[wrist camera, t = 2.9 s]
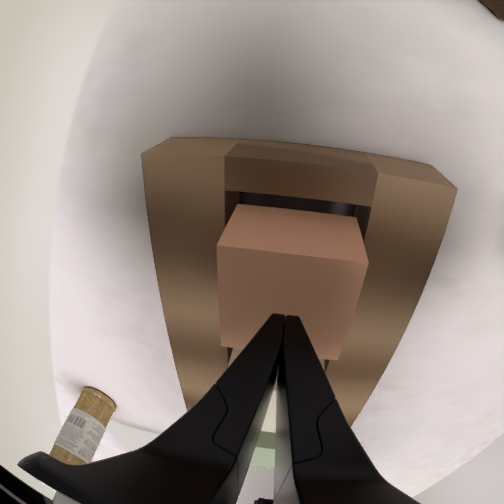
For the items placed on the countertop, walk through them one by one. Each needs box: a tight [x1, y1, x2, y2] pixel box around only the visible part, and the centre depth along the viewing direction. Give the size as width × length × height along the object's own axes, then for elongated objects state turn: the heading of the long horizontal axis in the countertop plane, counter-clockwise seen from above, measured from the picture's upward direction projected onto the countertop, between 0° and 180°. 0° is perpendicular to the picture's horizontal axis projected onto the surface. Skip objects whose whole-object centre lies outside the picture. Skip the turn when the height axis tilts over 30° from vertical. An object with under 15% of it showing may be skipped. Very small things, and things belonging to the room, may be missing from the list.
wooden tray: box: [141, 137, 457, 427], centre depth 18 cm, size 22×12×3 cm, turn 178°
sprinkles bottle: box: [40, 388, 116, 491], centre depth 25 cm, size 5×5×13 cm
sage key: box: [249, 431, 276, 470], centre depth 19 cm, size 4×4×3 cm
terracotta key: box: [217, 204, 369, 360], centre depth 11 cm, size 4×4×3 cm
